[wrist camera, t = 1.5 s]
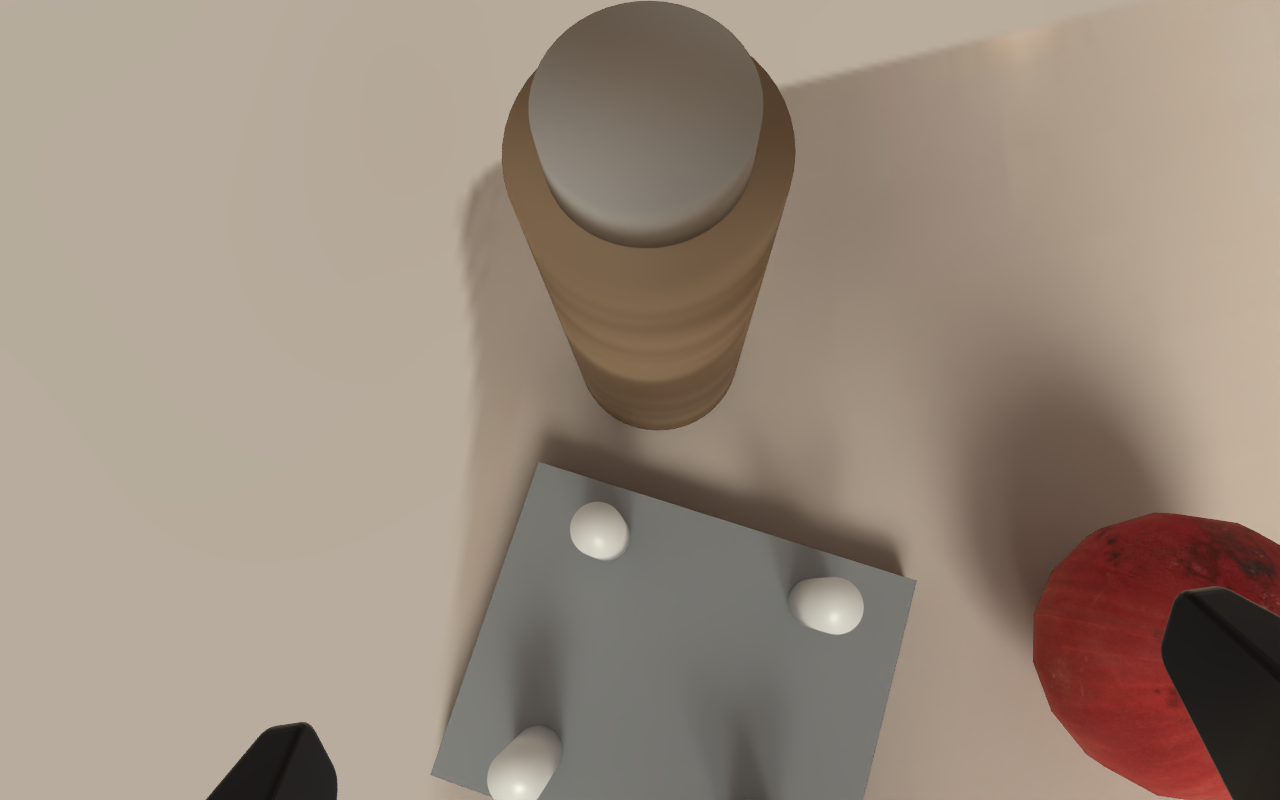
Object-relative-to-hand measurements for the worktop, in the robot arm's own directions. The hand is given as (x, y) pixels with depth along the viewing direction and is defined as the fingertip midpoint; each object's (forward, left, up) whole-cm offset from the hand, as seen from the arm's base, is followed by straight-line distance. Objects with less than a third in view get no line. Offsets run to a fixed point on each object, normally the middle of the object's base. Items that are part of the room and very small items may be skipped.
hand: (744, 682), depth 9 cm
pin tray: (-1, 0, -13) cm, 14 cm away
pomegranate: (+3, -10, -14) cm, 17 cm away
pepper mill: (+7, +3, -13) cm, 15 cm away
